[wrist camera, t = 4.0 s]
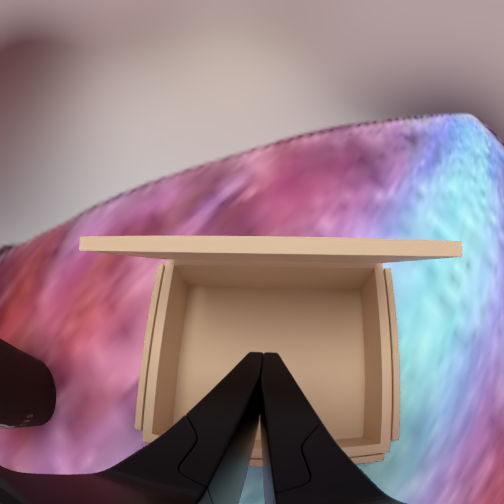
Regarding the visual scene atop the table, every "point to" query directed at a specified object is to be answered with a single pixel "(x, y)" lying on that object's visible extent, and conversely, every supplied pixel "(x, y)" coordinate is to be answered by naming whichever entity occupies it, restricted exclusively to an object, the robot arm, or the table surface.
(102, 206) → the table surface
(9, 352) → the coffee mug
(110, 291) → the table surface
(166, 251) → the flap
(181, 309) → the kraft box
